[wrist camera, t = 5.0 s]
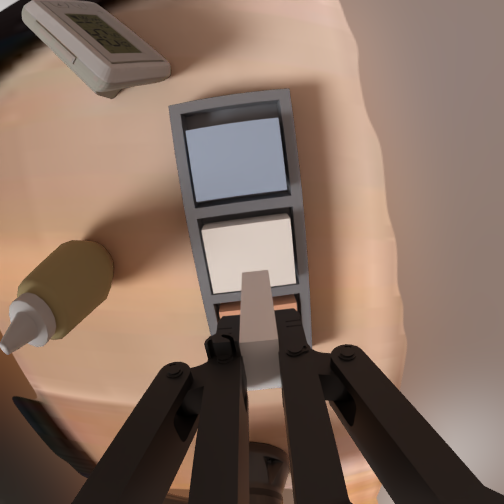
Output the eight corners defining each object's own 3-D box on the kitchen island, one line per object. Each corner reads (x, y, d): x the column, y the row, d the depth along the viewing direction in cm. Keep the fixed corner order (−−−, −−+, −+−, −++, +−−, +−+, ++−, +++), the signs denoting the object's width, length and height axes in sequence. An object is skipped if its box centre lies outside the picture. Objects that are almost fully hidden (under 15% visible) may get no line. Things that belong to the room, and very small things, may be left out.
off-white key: (292, 273, 32) (295, 283, 29) (215, 283, 32) (213, 293, 30) (286, 212, 30) (290, 218, 27) (204, 223, 30) (201, 230, 27)
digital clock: (181, 78, 27) (151, 49, 17) (113, 129, 29) (60, 126, 18) (116, -11, 22) (78, -50, 12) (58, 36, 24) (7, 14, 14)
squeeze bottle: (60, 233, 32) (-40, 298, 15) (116, 228, 32) (19, 303, 15) (74, 293, 35) (-4, 379, 18) (128, 293, 35) (60, 396, 18)
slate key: (283, 186, 29) (287, 189, 26) (200, 197, 29) (196, 202, 27) (275, 120, 27) (278, 117, 24) (190, 132, 27) (185, 130, 24)
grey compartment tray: (307, 347, 38) (312, 364, 34) (222, 358, 38) (221, 375, 35) (284, 94, 28) (289, 88, 25) (176, 110, 28) (168, 105, 25)
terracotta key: (296, 339, 35) (299, 351, 33) (230, 347, 36) (229, 359, 33) (293, 292, 33) (296, 302, 31) (220, 301, 33) (218, 312, 31)
